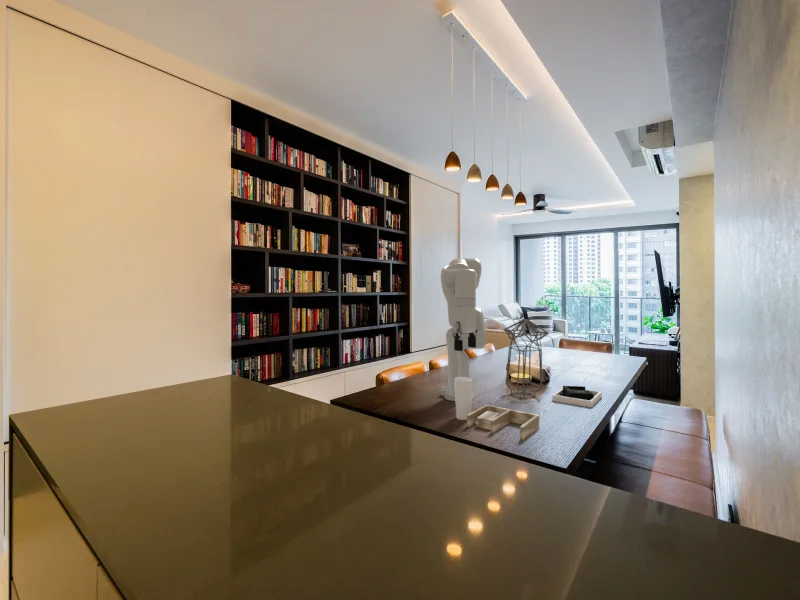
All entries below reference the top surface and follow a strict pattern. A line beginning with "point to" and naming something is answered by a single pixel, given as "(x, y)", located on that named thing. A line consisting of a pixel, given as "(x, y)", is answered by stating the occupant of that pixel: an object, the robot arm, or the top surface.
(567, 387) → the battery charger
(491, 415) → the offcut top
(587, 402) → the charger tray
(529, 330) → the geometric lantern
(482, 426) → the board
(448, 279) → the robot arm
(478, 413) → the rack
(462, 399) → the white vase
